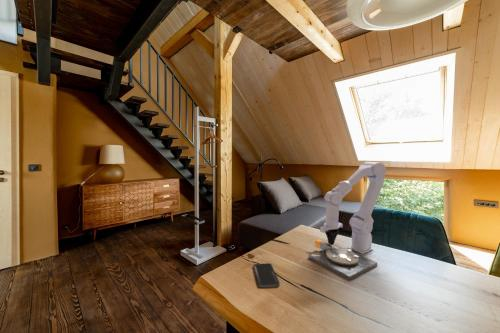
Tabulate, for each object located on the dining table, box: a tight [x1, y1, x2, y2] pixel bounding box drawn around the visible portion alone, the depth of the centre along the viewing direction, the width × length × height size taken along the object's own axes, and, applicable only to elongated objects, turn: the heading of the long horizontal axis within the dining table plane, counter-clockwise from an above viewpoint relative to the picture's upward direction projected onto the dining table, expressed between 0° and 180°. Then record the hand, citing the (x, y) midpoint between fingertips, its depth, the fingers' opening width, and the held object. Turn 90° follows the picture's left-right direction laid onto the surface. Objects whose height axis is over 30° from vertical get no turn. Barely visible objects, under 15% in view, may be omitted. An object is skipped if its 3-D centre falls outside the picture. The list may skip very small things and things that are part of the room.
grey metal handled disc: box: [314, 238, 359, 266], centre depth 97 cm, size 13×20×3 cm, turn 33°
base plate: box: [308, 244, 378, 281], centre depth 94 cm, size 20×20×2 cm
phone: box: [252, 263, 280, 289], centre depth 83 cm, size 8×1×15 cm
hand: (331, 244), depth 104 cm, fingers closed
